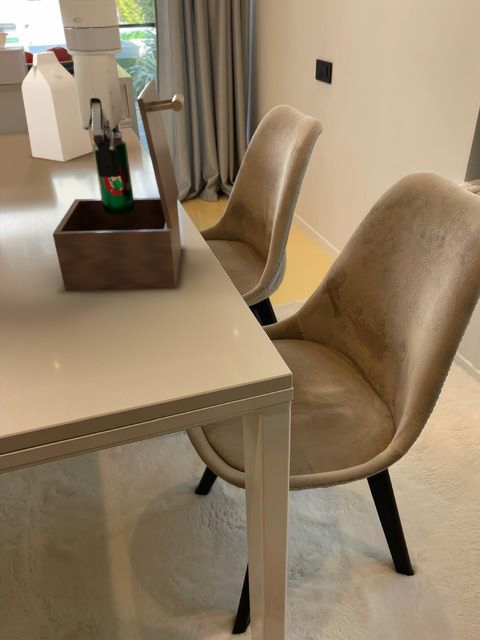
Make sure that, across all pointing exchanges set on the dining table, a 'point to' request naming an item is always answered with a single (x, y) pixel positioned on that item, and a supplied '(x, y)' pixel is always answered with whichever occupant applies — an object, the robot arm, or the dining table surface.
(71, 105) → the milk
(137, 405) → the dining table surface
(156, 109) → the lid
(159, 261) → the brown wooden box
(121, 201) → the soda can
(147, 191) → the dining table surface
